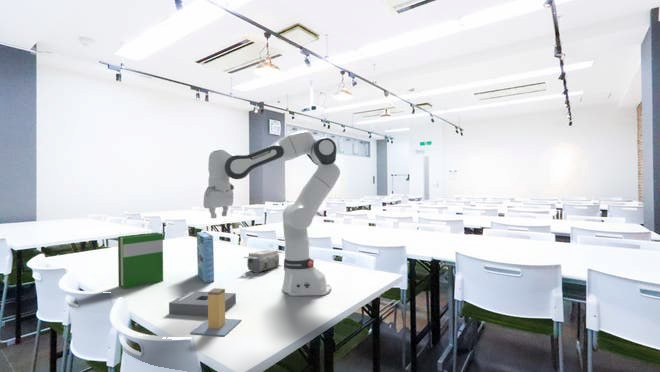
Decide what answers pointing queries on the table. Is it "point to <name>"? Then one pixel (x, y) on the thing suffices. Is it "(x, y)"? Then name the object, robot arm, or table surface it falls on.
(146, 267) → the hardback book
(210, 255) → the gum box
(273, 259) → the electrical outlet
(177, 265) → the table surface
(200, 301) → the grey block with hole
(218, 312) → the plug
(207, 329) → the mat
